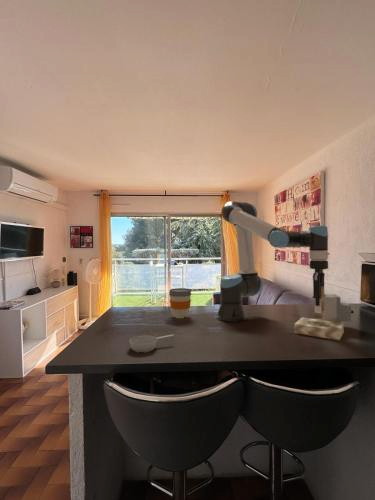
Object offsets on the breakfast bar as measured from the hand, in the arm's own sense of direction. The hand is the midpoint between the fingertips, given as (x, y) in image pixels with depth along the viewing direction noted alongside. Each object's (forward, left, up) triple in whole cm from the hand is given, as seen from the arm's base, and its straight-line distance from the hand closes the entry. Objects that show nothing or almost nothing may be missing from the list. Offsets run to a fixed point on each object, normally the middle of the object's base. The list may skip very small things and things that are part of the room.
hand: (319, 311), depth 126 cm
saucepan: (-50, -56, -10) cm, 76 cm away
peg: (0, 0, -3) cm, 3 cm away
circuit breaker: (+5, +14, -10) cm, 17 cm away
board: (0, 0, -9) cm, 9 cm away
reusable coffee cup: (-70, -11, -10) cm, 72 cm away
